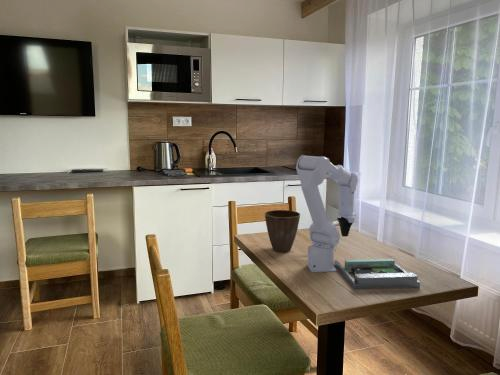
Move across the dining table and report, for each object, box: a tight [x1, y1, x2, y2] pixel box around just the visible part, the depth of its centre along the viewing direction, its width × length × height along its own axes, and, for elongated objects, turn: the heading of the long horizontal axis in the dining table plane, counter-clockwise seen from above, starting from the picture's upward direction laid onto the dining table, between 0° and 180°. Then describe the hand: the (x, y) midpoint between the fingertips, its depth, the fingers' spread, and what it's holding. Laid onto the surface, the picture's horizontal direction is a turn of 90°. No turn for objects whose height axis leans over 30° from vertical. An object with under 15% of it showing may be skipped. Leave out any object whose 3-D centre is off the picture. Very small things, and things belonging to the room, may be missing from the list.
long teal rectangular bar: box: [344, 258, 396, 273], centre depth 145 cm, size 18×2×4 cm, turn 95°
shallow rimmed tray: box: [333, 259, 421, 290], centre depth 141 cm, size 22×23×4 cm
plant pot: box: [264, 209, 301, 253], centre depth 169 cm, size 15×15×16 cm
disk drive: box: [352, 267, 399, 276], centre depth 139 cm, size 10×3×15 cm
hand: (344, 236), depth 158 cm, fingers closed
